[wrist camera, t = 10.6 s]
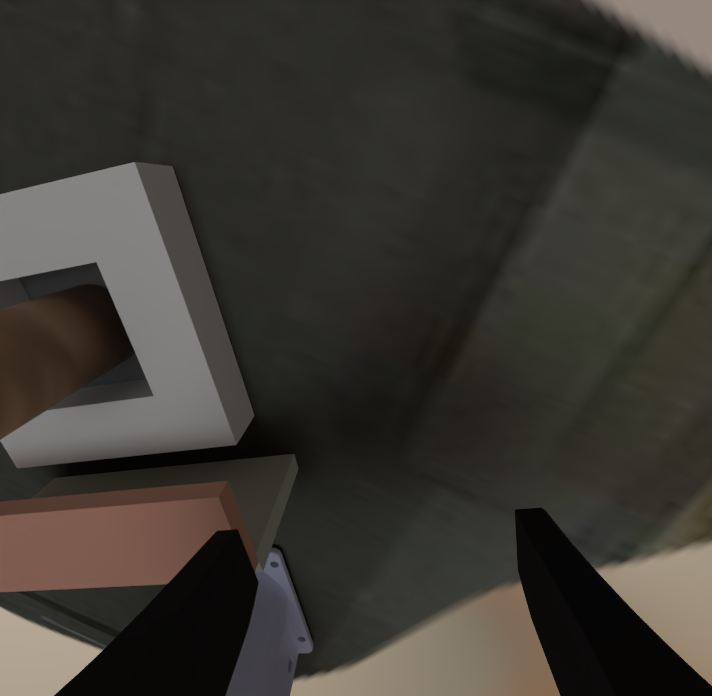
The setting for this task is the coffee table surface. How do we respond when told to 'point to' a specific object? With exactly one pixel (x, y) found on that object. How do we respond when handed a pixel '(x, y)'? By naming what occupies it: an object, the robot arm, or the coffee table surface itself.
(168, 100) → the coffee table surface
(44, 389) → the peg
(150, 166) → the socket block
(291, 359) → the coffee table surface
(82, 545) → the pink slab
